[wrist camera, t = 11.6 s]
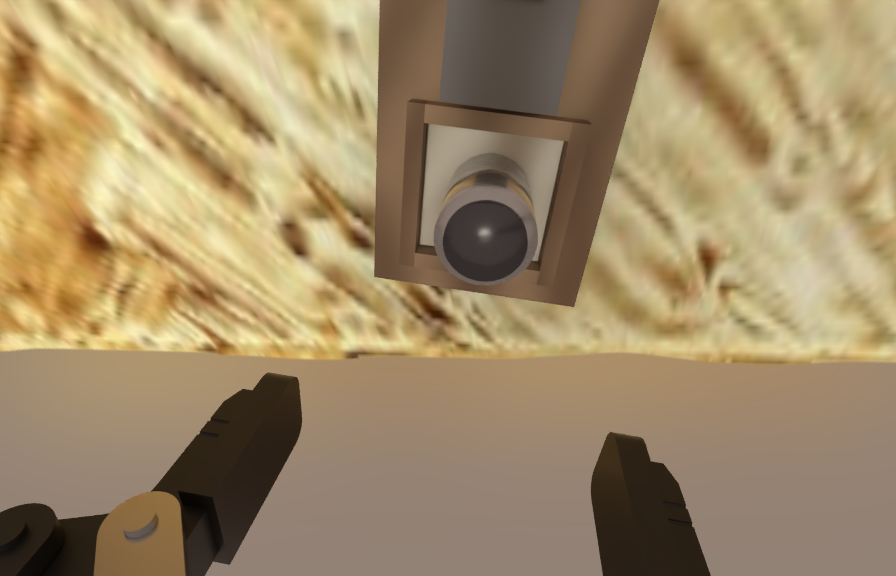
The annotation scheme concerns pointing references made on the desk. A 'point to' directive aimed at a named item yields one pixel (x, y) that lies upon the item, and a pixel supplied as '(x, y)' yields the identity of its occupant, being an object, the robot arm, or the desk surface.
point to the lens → (487, 221)
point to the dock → (502, 123)
